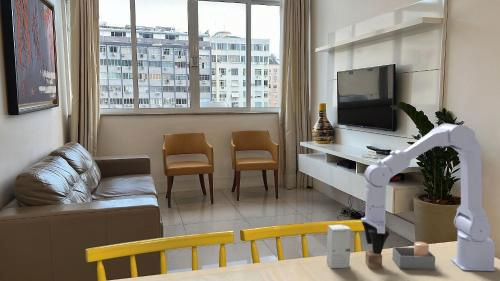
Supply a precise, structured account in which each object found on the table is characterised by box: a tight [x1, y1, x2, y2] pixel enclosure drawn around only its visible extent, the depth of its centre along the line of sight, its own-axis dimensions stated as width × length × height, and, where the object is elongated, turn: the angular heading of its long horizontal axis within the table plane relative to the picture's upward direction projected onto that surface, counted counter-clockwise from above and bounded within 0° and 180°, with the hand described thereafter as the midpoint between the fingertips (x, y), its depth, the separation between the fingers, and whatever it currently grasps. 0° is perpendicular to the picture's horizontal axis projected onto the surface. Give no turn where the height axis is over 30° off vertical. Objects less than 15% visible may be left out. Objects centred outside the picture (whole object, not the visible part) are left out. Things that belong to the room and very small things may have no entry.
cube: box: [364, 249, 383, 269], centre depth 116 cm, size 4×4×4 cm
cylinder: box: [413, 241, 430, 256], centre depth 116 cm, size 4×4×6 cm
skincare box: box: [326, 224, 352, 269], centre depth 115 cm, size 6×4×12 cm
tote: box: [391, 246, 436, 271], centre depth 116 cm, size 10×7×4 cm
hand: (373, 248), depth 115 cm, fingers open, 7 cm apart
